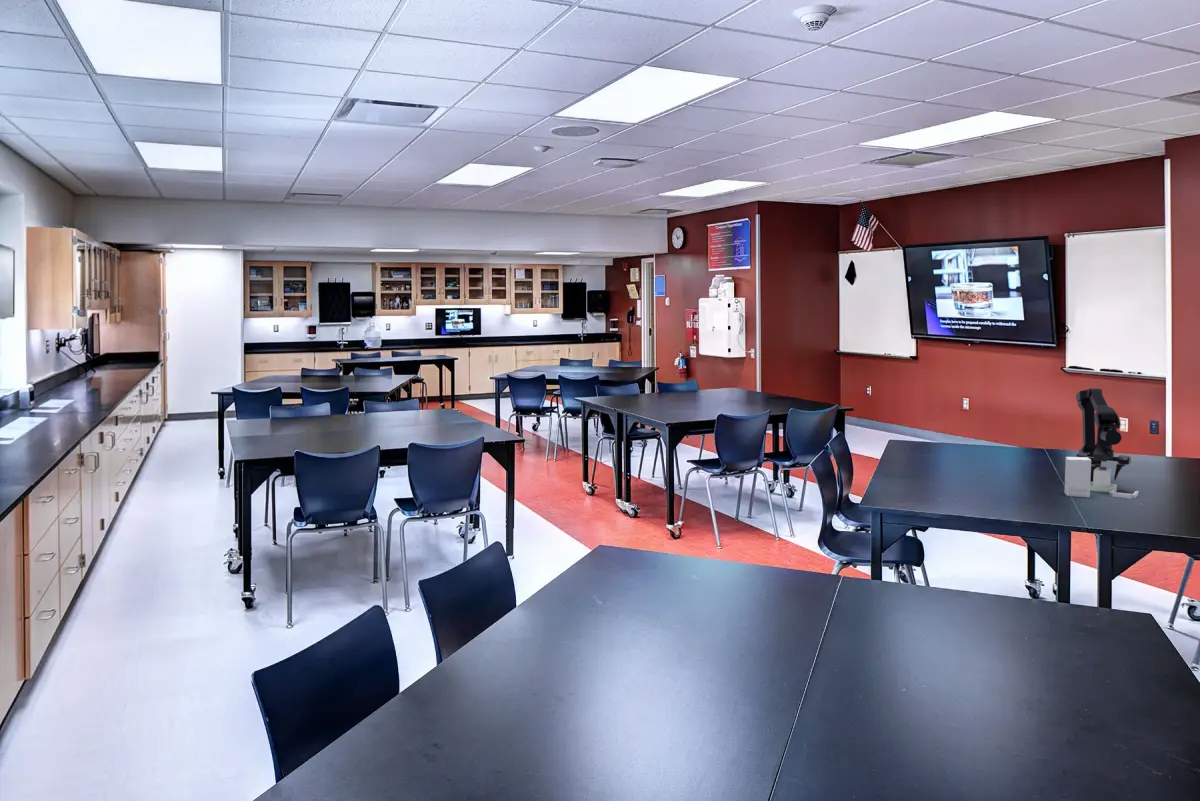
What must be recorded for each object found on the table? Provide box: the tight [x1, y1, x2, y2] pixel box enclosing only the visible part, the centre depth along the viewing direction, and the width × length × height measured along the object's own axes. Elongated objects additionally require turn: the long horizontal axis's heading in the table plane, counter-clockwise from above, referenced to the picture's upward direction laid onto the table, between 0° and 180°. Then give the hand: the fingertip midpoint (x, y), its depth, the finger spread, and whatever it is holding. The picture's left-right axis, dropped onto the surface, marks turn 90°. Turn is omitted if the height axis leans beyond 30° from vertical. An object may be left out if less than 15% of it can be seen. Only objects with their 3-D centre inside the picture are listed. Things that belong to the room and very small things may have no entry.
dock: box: [1108, 489, 1139, 500], centre depth 333 cm, size 8×10×2 cm
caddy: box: [1093, 465, 1112, 489], centre depth 344 cm, size 5×7×9 cm
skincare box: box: [1064, 456, 1092, 498], centre depth 333 cm, size 8×7×16 cm
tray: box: [1090, 482, 1118, 493], centre depth 344 cm, size 9×11×2 cm
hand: (1102, 478), depth 344 cm, fingers open, 9 cm apart
